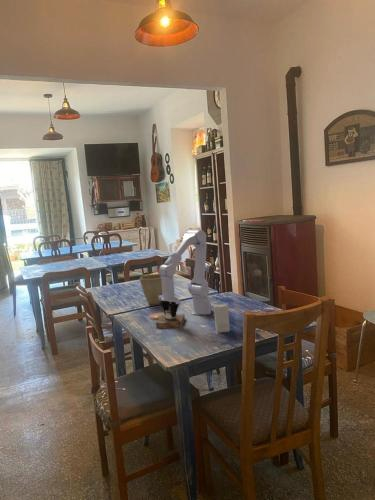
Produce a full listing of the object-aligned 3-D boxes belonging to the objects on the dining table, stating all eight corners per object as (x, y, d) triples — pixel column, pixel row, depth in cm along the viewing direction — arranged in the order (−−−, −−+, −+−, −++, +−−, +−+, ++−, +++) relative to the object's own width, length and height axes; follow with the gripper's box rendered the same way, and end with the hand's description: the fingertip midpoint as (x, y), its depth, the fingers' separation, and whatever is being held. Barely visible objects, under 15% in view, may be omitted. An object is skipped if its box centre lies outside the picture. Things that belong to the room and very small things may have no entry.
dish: (168, 313, 203) (167, 312, 203) (164, 319, 194) (164, 318, 194) (151, 314, 204) (151, 313, 204) (147, 319, 196) (147, 318, 195)
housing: (184, 319, 192) (184, 314, 192) (181, 327, 180) (180, 322, 180) (161, 319, 194) (161, 315, 194) (156, 327, 182) (156, 322, 182)
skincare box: (228, 328, 174) (226, 303, 172) (230, 332, 170) (228, 305, 168) (215, 330, 174) (213, 304, 172) (216, 333, 169) (215, 307, 168)
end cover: (176, 321, 189) (175, 308, 188) (175, 325, 184) (174, 311, 183) (167, 321, 190) (165, 308, 189) (165, 325, 185) (163, 311, 184)
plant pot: (171, 302, 224) (169, 276, 222) (148, 307, 217) (145, 280, 215) (160, 297, 237) (158, 272, 235) (138, 302, 230) (135, 276, 228)
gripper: (152, 288, 188) (155, 315, 189) (171, 292, 177) (173, 320, 179) (163, 285, 192) (165, 311, 194) (182, 289, 181) (184, 316, 183)
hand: (170, 315), depth 187 cm, fingers closed on end cover, 5 cm apart
